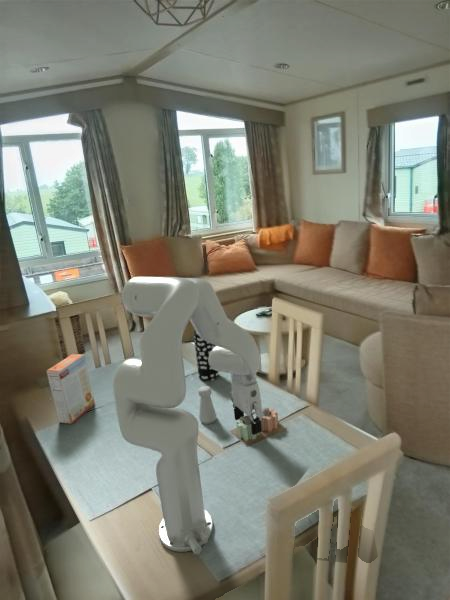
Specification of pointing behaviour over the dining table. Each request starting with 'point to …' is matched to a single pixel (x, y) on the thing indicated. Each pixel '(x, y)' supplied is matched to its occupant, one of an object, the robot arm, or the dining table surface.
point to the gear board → (262, 434)
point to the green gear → (245, 429)
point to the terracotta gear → (269, 420)
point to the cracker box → (71, 388)
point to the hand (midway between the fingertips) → (247, 425)
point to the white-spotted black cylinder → (204, 359)
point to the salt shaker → (206, 406)
